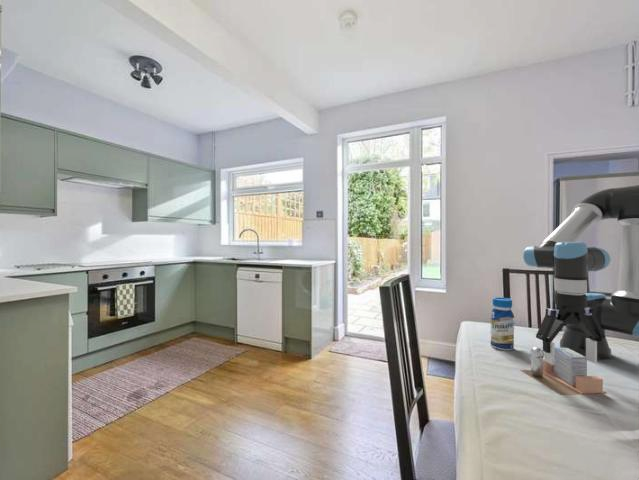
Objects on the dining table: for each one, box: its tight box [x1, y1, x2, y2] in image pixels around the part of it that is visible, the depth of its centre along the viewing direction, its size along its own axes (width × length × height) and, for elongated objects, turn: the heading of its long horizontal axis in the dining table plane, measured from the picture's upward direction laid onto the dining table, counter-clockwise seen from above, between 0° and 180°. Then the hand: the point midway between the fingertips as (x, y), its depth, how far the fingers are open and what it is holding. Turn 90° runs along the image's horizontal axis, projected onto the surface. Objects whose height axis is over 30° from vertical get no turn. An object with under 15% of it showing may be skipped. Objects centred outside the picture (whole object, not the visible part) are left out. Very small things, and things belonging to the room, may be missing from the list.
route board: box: [520, 369, 607, 396], centre depth 89 cm, size 14×15×1 cm
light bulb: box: [529, 346, 545, 378], centre depth 92 cm, size 4×4×9 cm
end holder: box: [543, 358, 605, 395], centre depth 88 cm, size 7×14×4 cm, turn 4°
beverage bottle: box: [489, 296, 515, 351], centre depth 119 cm, size 8×8×20 cm
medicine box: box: [553, 346, 588, 386], centre depth 88 cm, size 8×4×9 cm, turn 173°
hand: (570, 362), depth 88 cm, fingers open, 13 cm apart
